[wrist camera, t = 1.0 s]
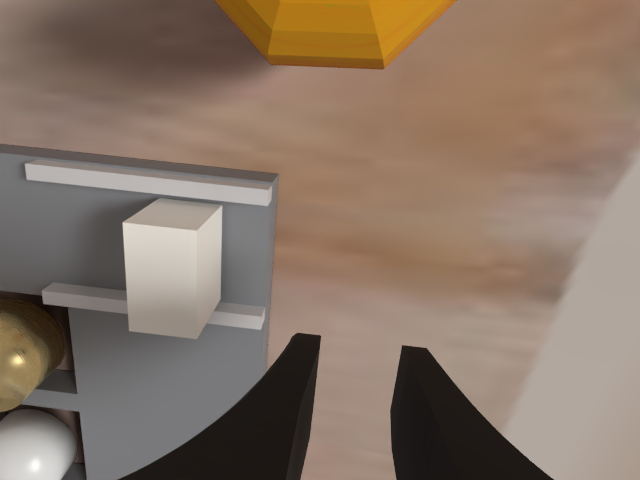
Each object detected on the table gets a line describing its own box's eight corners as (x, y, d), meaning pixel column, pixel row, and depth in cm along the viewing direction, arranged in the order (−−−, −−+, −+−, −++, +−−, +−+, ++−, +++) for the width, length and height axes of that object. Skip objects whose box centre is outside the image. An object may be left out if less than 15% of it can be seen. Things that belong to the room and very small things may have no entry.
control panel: (257, 514, 25) (248, 555, 23) (-26, 476, 26) (-60, 513, 24) (278, 173, 19) (268, 187, 17) (-102, 132, 19) (-161, 140, 17)
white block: (220, 299, 19) (197, 339, 16) (162, 292, 19) (128, 330, 16) (222, 204, 17) (196, 230, 15) (159, 198, 17) (122, 222, 15)
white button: (81, 476, 24) (50, 521, 21) (5, 466, 24) (-34, 510, 21) (73, 414, 22) (40, 454, 20) (-7, 404, 22) (-49, 442, 20)
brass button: (69, 380, 22) (34, 417, 19) (-14, 369, 22) (-58, 405, 19) (60, 304, 20) (22, 335, 18) (-28, 293, 20) (-78, 322, 18)
